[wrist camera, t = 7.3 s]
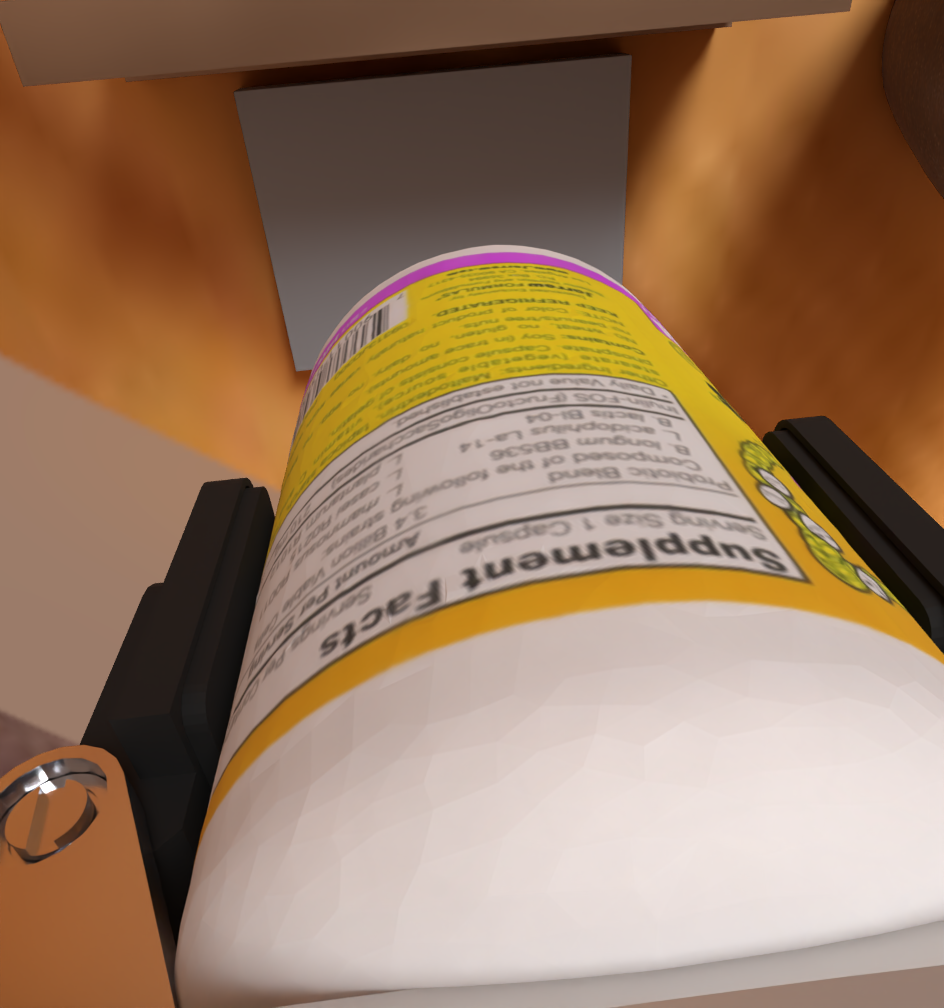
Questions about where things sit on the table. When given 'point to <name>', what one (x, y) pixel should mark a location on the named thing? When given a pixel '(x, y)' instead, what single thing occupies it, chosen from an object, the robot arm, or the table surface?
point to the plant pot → (917, 80)
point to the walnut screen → (327, 30)
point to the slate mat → (433, 174)
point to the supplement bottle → (551, 671)
